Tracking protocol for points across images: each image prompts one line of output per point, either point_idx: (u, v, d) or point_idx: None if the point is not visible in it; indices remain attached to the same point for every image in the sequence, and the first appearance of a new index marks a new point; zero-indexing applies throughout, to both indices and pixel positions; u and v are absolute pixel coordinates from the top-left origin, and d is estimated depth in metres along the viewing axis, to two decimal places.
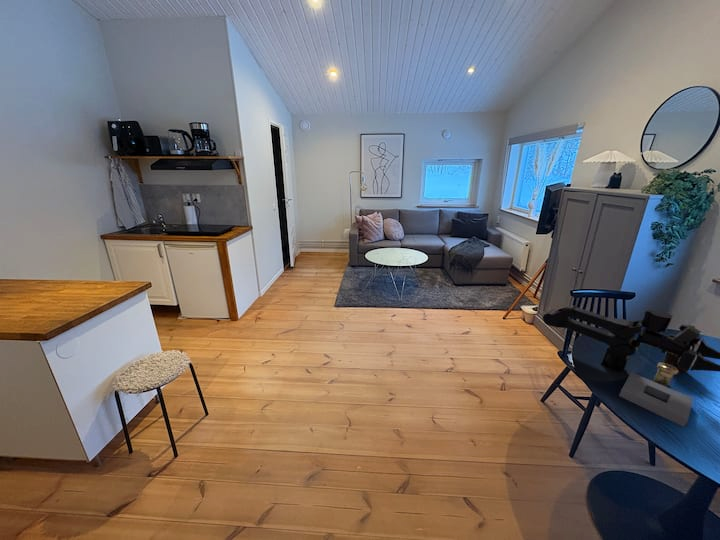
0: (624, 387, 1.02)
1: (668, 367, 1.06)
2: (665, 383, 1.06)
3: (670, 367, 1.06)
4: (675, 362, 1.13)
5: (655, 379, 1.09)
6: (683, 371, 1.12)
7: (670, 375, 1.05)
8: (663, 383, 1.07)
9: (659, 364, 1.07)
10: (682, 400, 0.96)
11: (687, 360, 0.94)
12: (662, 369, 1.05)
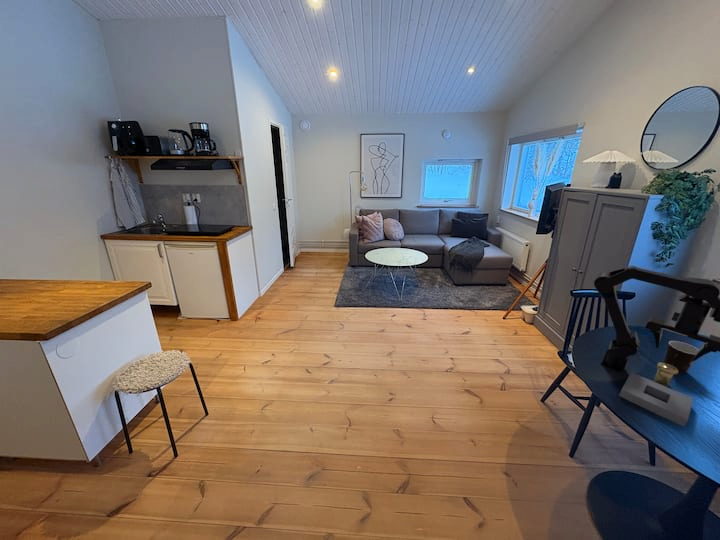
0: (624, 387, 1.02)
1: (668, 367, 1.06)
2: (665, 383, 1.06)
3: (670, 367, 1.06)
4: (675, 362, 1.13)
5: (655, 379, 1.09)
6: (683, 371, 1.12)
7: (670, 375, 1.05)
8: (663, 383, 1.07)
9: (659, 364, 1.07)
10: (682, 400, 0.96)
11: None
12: (662, 369, 1.05)
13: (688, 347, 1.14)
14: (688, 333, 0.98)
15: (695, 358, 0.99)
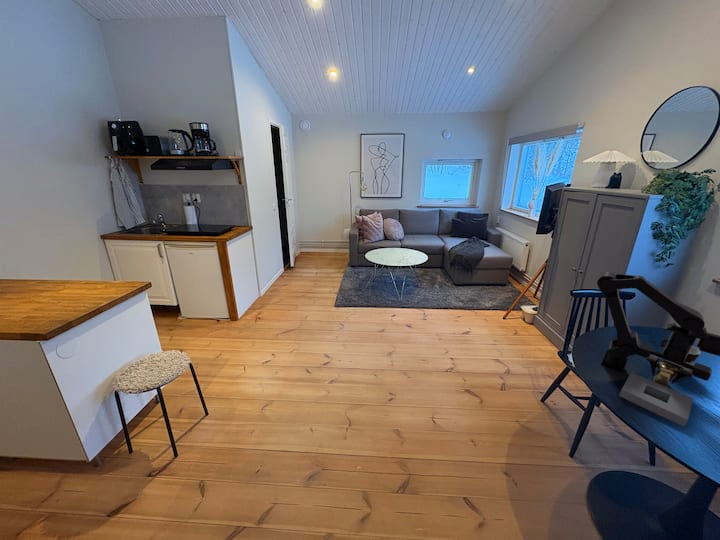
0: (624, 387, 1.02)
1: (668, 367, 1.06)
2: (665, 383, 1.06)
3: (670, 367, 1.06)
4: None
5: (655, 379, 1.09)
6: None
7: (670, 375, 1.05)
8: (663, 383, 1.07)
9: (659, 364, 1.07)
10: (682, 400, 0.96)
11: None
12: (662, 369, 1.05)
13: None
14: (675, 361, 1.02)
15: (673, 381, 1.05)
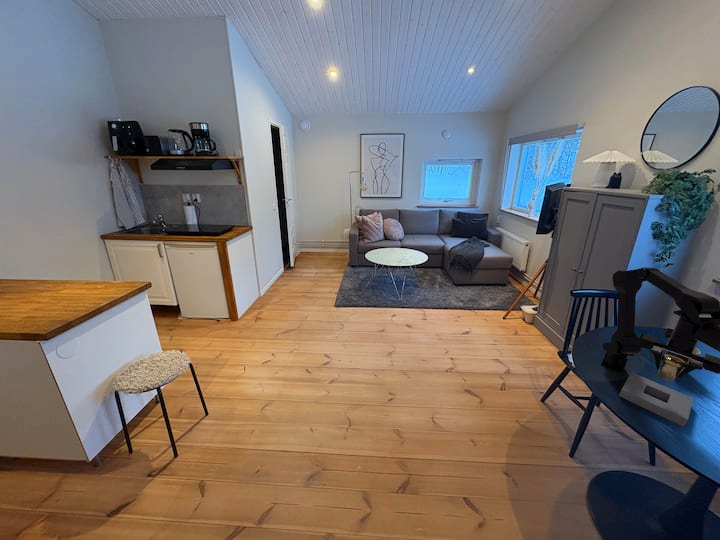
0: (624, 387, 1.02)
1: (674, 359, 0.94)
2: (671, 377, 0.95)
3: (676, 359, 0.94)
4: None
5: (660, 373, 0.97)
6: None
7: (677, 368, 0.93)
8: (668, 377, 0.95)
9: (664, 356, 0.96)
10: (682, 400, 0.96)
11: None
12: (668, 362, 0.94)
13: None
14: (682, 352, 0.90)
15: (680, 375, 0.93)
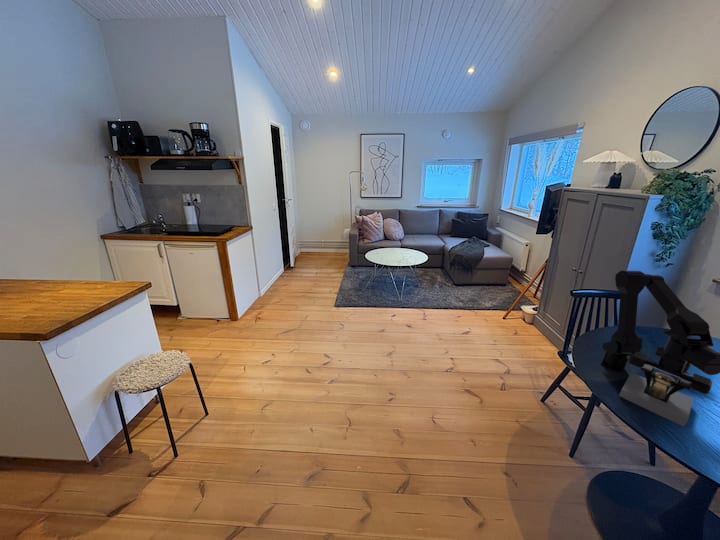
0: (624, 387, 1.02)
1: (664, 378, 0.97)
2: (661, 395, 0.97)
3: (666, 377, 0.97)
4: None
5: (650, 391, 0.99)
6: (683, 371, 1.12)
7: (666, 387, 0.96)
8: (658, 395, 0.97)
9: (654, 374, 0.98)
10: (682, 400, 0.96)
11: None
12: (658, 380, 0.96)
13: None
14: (671, 371, 0.93)
15: (669, 393, 0.96)
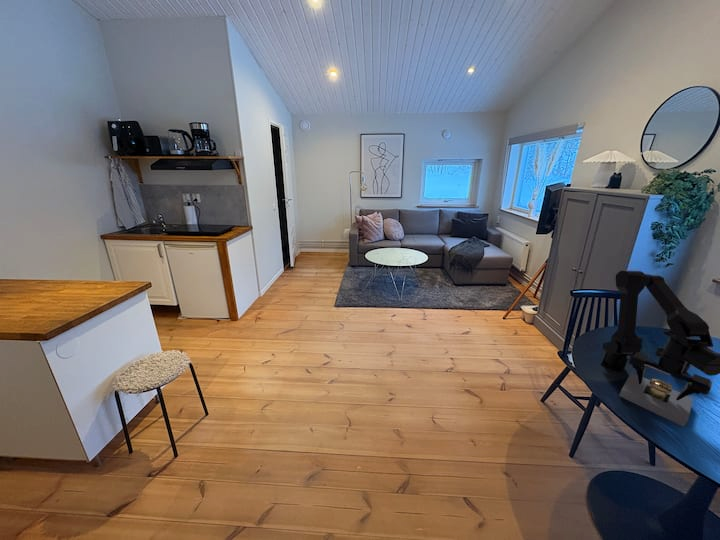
0: (624, 387, 1.02)
1: (661, 384, 0.98)
2: None
3: (663, 384, 0.98)
4: None
5: None
6: (683, 371, 1.12)
7: (663, 393, 0.97)
8: None
9: (652, 381, 0.99)
10: (682, 400, 0.96)
11: None
12: (655, 386, 0.97)
13: None
14: (671, 372, 0.93)
15: (678, 398, 0.94)
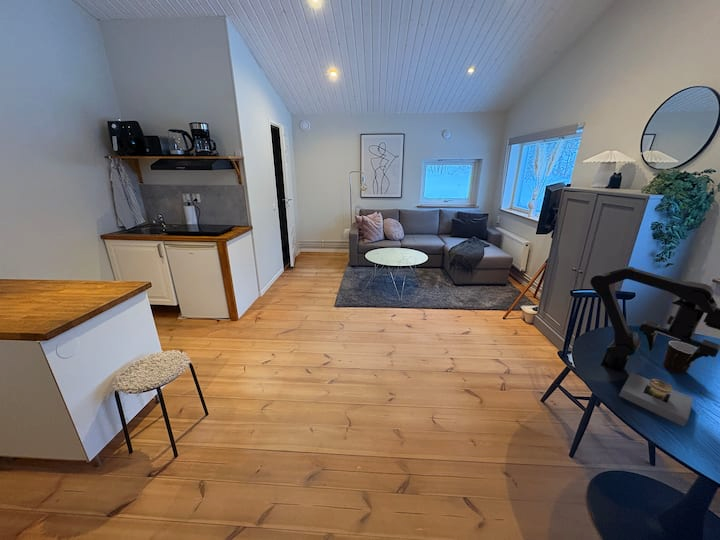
0: (624, 387, 1.02)
1: (661, 384, 0.98)
2: None
3: (663, 384, 0.98)
4: (675, 362, 1.13)
5: None
6: (683, 371, 1.12)
7: (664, 393, 0.97)
8: None
9: (652, 381, 0.99)
10: (682, 400, 0.96)
11: None
12: (655, 386, 0.97)
13: (688, 347, 1.14)
14: (680, 337, 0.98)
15: (687, 362, 0.99)
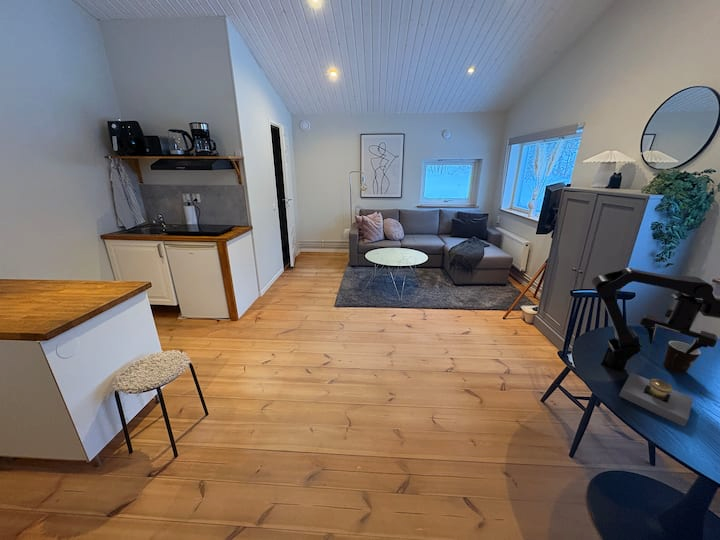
0: (624, 387, 1.02)
1: (661, 384, 0.98)
2: None
3: (663, 384, 0.98)
4: (675, 362, 1.13)
5: None
6: (683, 371, 1.12)
7: (663, 393, 0.97)
8: None
9: (652, 381, 0.99)
10: (682, 400, 0.96)
11: None
12: (655, 386, 0.97)
13: (688, 347, 1.14)
14: (680, 329, 1.02)
15: (687, 353, 1.03)
